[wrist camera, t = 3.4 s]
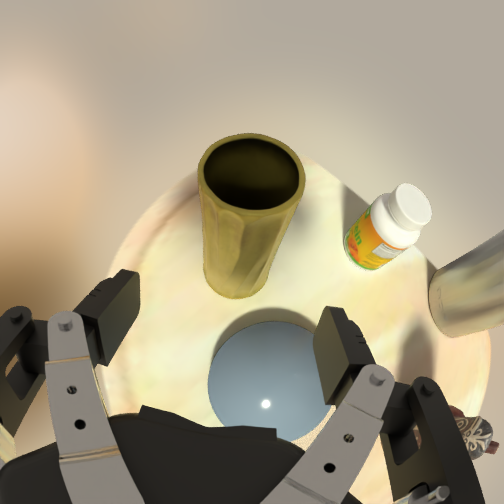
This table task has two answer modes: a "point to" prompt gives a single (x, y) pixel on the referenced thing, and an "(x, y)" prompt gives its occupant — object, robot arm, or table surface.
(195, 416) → the table surface
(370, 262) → the supplement bottle
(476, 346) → the table surface
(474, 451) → the figurine
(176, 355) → the table surface
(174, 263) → the table surface
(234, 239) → the vase
